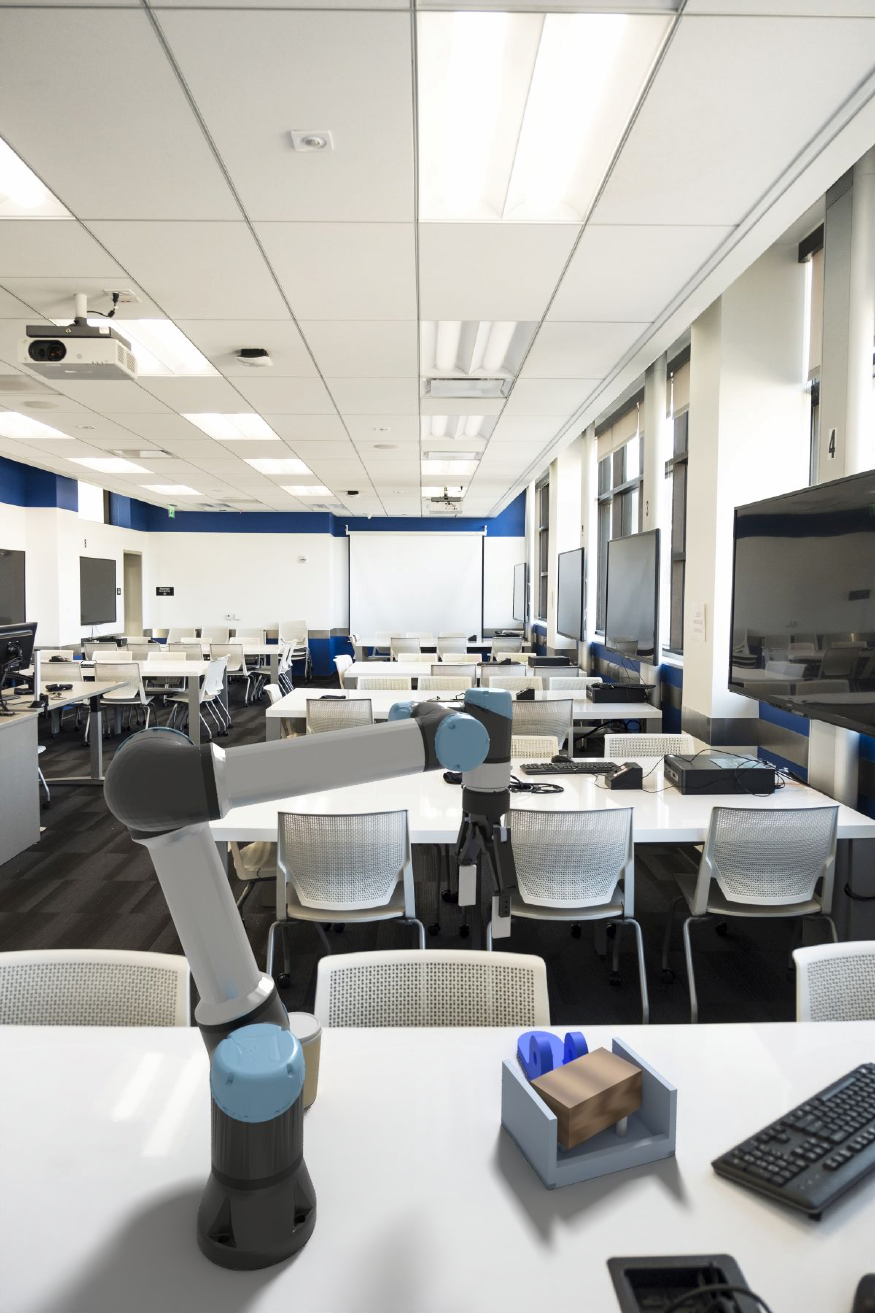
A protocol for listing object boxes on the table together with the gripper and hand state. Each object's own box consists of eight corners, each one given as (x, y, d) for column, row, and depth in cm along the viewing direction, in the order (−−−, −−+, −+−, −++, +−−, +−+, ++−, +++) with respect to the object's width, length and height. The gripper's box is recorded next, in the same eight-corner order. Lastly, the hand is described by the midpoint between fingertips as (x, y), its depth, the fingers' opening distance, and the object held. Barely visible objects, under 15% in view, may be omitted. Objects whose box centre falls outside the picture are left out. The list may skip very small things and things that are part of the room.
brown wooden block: (601, 1083, 126) (601, 1046, 125) (641, 1108, 119) (642, 1070, 119) (529, 1120, 116) (530, 1081, 116) (568, 1149, 110) (569, 1108, 109)
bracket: (589, 1098, 128) (590, 1045, 128) (540, 1103, 127) (541, 1049, 126) (555, 1040, 146) (555, 993, 145) (512, 1043, 144) (512, 996, 144)
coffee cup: (327, 1082, 131) (328, 1012, 131) (313, 1117, 122) (314, 1042, 121) (274, 1078, 132) (274, 1009, 132) (256, 1112, 123) (256, 1038, 122)
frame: (548, 1190, 107) (549, 1120, 106) (501, 1123, 121) (502, 1060, 121) (675, 1155, 114) (677, 1089, 114) (616, 1095, 129) (618, 1036, 128)
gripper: (545, 803, 111) (540, 948, 112) (477, 770, 134) (474, 891, 135) (497, 806, 108) (493, 955, 109) (437, 772, 132) (434, 895, 133)
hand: (483, 920), depth 122 cm, fingers open, 13 cm apart
